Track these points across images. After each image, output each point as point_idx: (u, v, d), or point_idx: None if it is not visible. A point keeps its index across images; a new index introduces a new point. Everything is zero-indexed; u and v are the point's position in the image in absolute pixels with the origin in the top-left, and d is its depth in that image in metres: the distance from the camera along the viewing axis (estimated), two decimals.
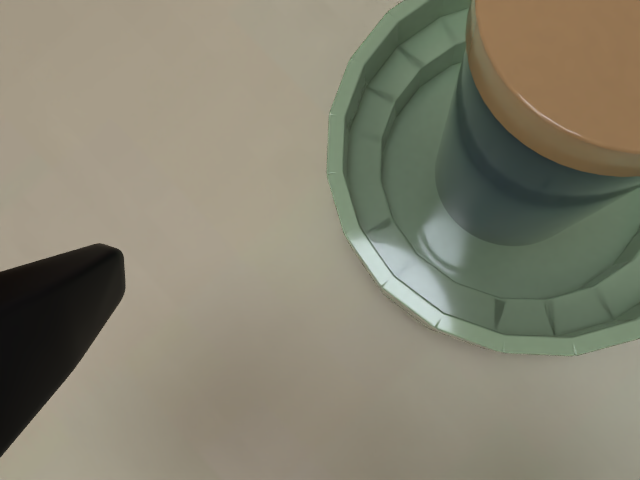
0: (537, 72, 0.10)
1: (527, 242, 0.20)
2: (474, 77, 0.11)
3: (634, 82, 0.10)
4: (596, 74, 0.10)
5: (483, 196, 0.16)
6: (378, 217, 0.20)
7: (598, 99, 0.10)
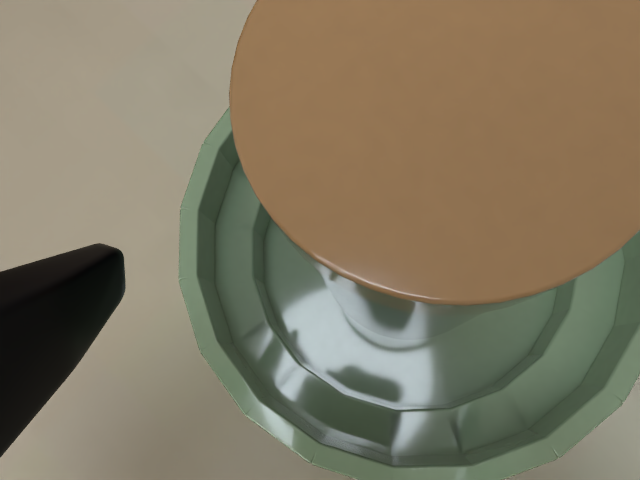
0: (307, 195, 0.07)
1: (427, 337, 0.17)
2: None
3: (433, 203, 0.07)
4: (384, 194, 0.07)
5: (346, 304, 0.14)
6: (251, 321, 0.17)
7: (387, 229, 0.07)
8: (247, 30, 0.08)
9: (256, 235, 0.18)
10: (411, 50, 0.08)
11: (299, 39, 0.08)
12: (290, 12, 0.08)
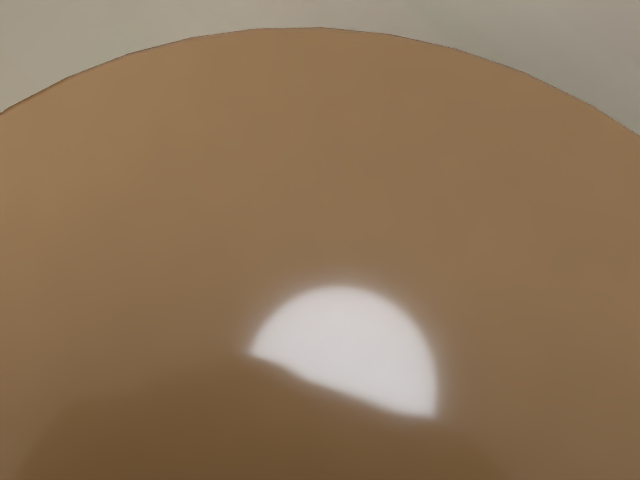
0: None
1: None
2: None
3: None
4: None
5: None
6: None
7: None
8: None
9: None
10: None
11: None
12: None
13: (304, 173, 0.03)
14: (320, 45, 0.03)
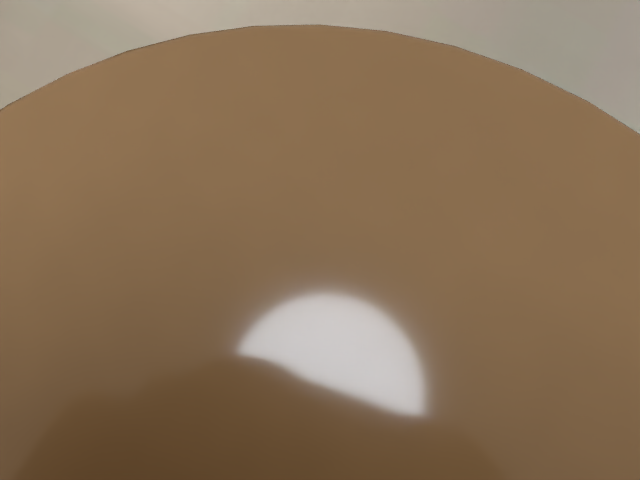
0: None
1: None
2: None
3: None
4: None
5: None
6: None
7: None
8: None
9: None
10: None
11: None
12: None
13: (302, 169, 0.03)
14: (318, 42, 0.03)
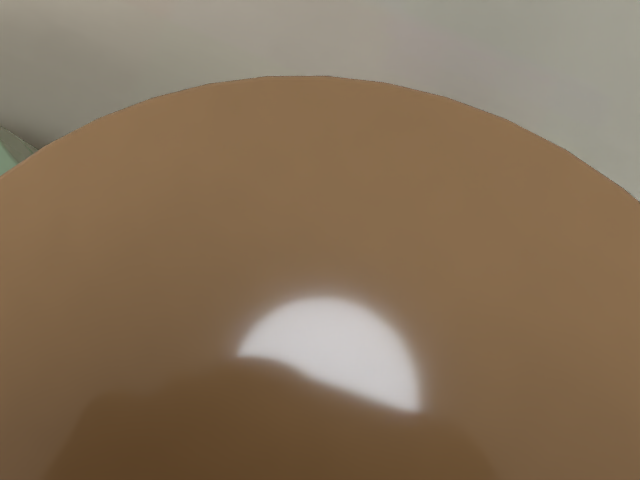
0: None
1: None
2: None
3: None
4: None
5: None
6: None
7: None
8: None
9: None
10: None
11: None
12: None
13: (310, 208, 0.03)
14: (325, 92, 0.04)
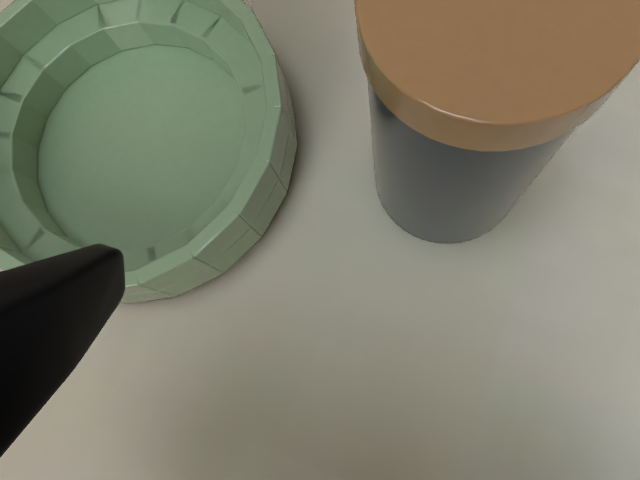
0: (411, 62, 0.11)
1: (464, 237, 0.21)
2: (367, 75, 0.13)
3: (493, 64, 0.11)
4: (461, 60, 0.11)
5: (407, 192, 0.18)
6: (31, 232, 0.22)
7: (464, 81, 0.11)
8: None
9: (20, 175, 0.24)
10: None
11: None
12: None
13: None
14: None
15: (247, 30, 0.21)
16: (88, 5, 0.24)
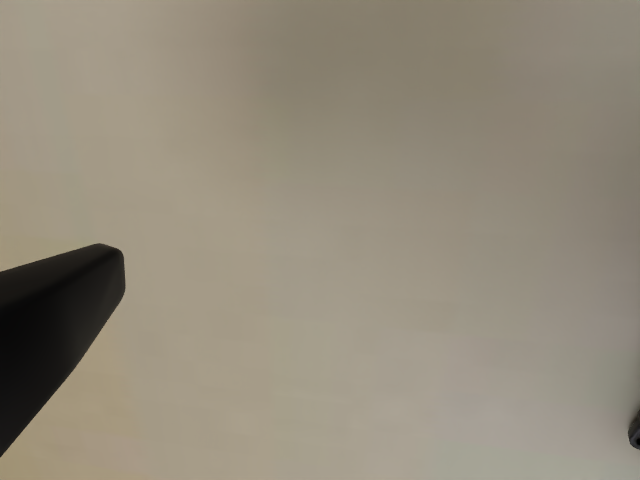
0: None
1: None
2: None
3: None
4: None
5: None
6: None
7: None
8: None
9: None
10: None
11: None
12: None
13: None
14: None
15: None
16: None
